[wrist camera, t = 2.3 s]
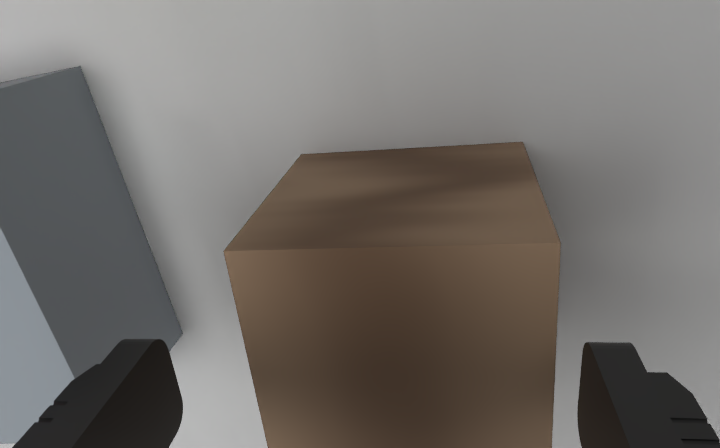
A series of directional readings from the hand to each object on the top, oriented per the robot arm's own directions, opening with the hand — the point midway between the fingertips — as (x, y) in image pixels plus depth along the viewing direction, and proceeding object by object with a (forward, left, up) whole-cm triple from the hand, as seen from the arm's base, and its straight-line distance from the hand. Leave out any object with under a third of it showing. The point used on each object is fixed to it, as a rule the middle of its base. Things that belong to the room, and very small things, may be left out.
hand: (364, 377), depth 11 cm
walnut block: (-1, 0, -6) cm, 6 cm away
